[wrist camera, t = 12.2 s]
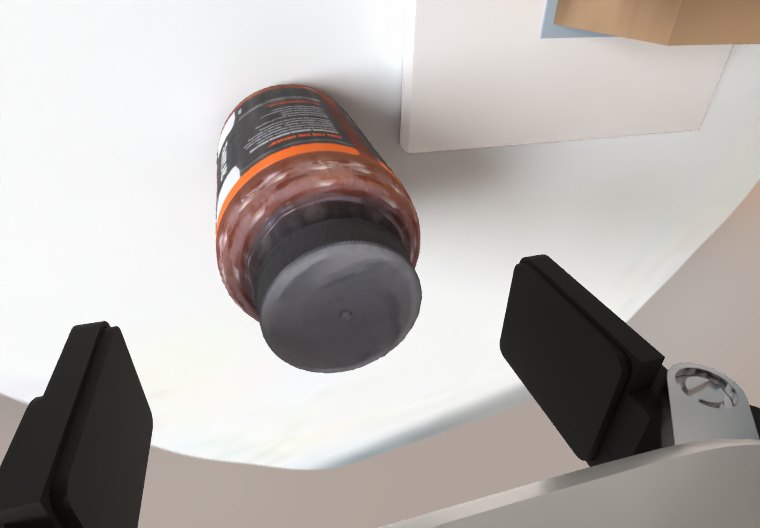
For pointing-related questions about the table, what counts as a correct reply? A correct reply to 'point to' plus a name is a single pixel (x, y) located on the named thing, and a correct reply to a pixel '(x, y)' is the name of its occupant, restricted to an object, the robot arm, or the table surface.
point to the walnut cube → (666, 20)
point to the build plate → (540, 78)
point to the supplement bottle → (314, 232)
